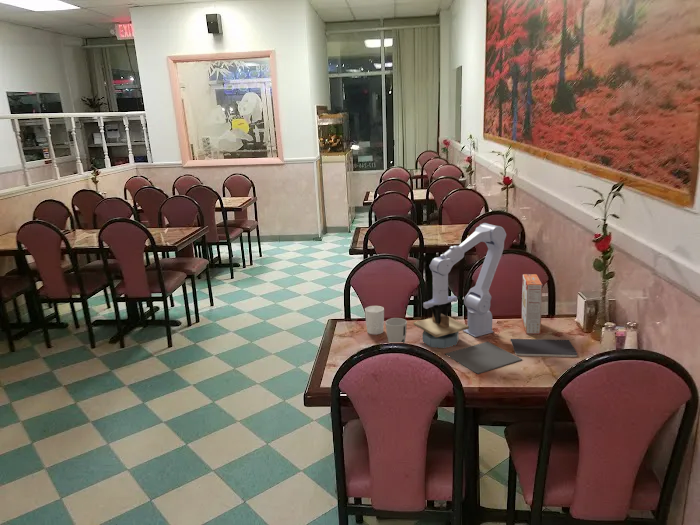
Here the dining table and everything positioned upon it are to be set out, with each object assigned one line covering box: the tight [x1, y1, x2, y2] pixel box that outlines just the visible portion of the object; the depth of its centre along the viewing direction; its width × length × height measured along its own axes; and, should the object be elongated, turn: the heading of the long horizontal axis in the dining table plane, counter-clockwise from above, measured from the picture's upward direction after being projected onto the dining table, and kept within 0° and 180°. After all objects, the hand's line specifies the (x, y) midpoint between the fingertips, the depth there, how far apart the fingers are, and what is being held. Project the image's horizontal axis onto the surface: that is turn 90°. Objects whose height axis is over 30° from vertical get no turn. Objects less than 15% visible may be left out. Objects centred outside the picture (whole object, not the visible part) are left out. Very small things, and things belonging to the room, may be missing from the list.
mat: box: [444, 341, 523, 375], centre depth 182 cm, size 20×18×1 cm
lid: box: [413, 311, 469, 337], centre depth 195 cm, size 15×15×5 cm
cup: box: [384, 317, 408, 344], centre depth 194 cm, size 8×8×10 cm
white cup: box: [364, 305, 385, 335], centre depth 208 cm, size 8×8×10 cm
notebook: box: [510, 338, 578, 358], centre depth 186 cm, size 13×2×21 cm
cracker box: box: [521, 273, 543, 335], centre depth 203 cm, size 14×6×21 cm, turn 169°
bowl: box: [422, 330, 460, 349], centre depth 197 cm, size 13×13×4 cm
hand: (440, 322), depth 196 cm, fingers closed on lid
